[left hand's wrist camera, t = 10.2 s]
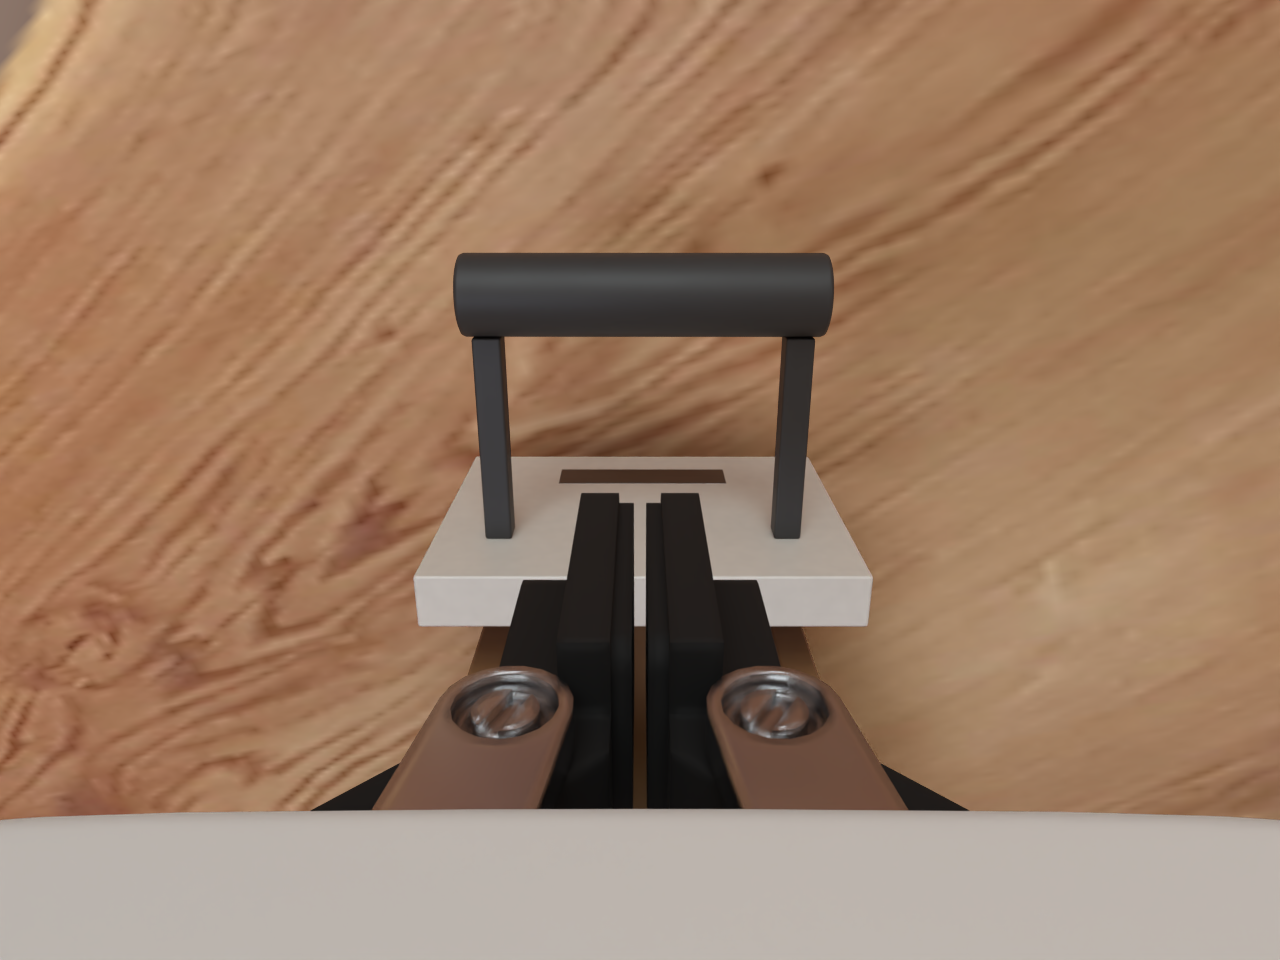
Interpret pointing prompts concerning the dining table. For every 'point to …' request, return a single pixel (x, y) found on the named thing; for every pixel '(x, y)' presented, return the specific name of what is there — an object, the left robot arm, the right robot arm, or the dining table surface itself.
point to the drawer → (728, 486)
